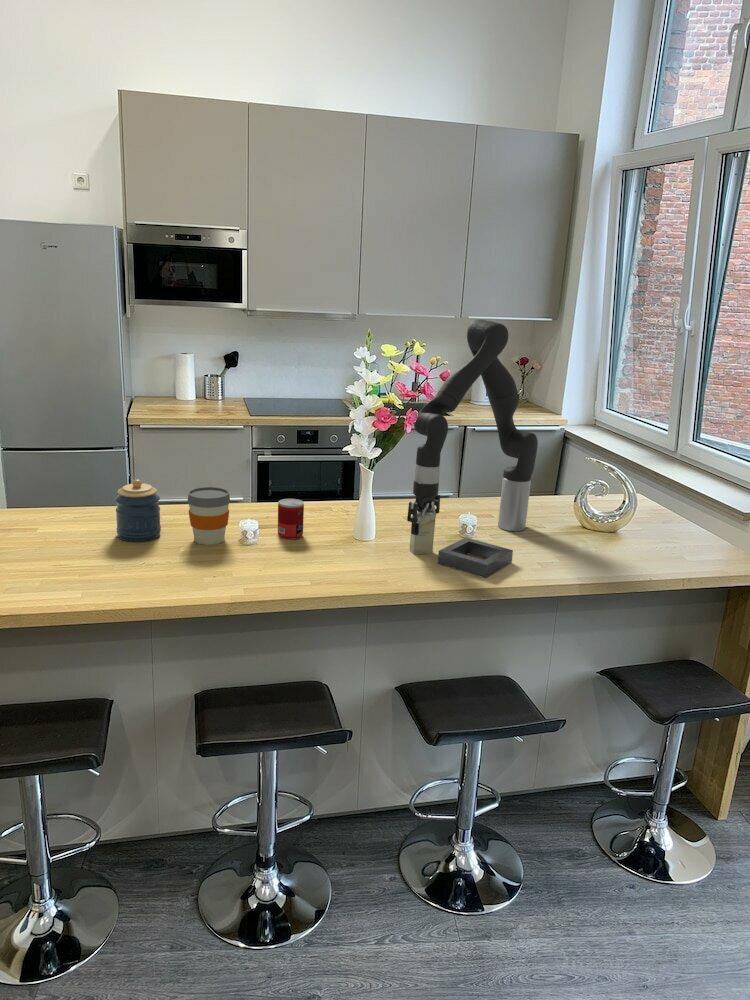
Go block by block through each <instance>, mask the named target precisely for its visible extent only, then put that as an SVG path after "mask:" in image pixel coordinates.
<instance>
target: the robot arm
mask: <svg viewBox="0 0 750 1000" xmlns="http://www.w3.org/2000/svg"><path fill="white" fill-rule="evenodd" d="M466 339H467V344H468V347H469V349H470V352H471V354H472V356H473V357H472V358H471V359H470V360H469V361H468V362H466V363H465V364H464V365H462V366H461V367H460V368H458V369H457V370H455V371H454V372H453V373H452V374H450V375H449V376H448V377H447V379H446V380H445V381H444V382H443V384H442V385H441V387H440V388H439V390H438V392H437V393H436V394H435V396H434V397H433V398H432V399H431V400H429V401H428V402H427V403H426V404H424V406H423V407H421V409H420V410H419V411H418V413H417V414H418V418H417V420H416V422H415V423H413V427H414V430H415V432H417V434H420V435H422V436H425V437H426V441H425V443H421V444H419V445H418V446H417V449H416V455H415V457H416V459H415V467H414V471H413V472H414V473H413V474H414V475H413V487H412V494H413V495H415V500H414V501H409V503H408V509H407V519H406V521H407V522H409V523H411V527H410V535H411V534H413V535H418V534H419V522H420V519H421V518H422V517H423V516H424V514H425V513H426V512H432V513H433V514H434V515H435V516H436V517H437V514H439V513H440V509H441V507H440V505H441V494H439V490H440V489H439V487H440V477H441V475H440V474H441V470H440V467H441V453H442V449H443V447H444V444H445V442H446V439H447V436H448V433H449V425H448V424H449V423H448V420H447V418H446V417H445V416H443V415H445V414H448V413H453V412H454V411H455V410H457V408H458V407H459V405H460V403H461V402H462V400H463V399H464V398H465V396H466V394H467V392H468V391H470V388H471V387H472V386H473V384H474V383H476V381H477V380H478V378H480V376H481V380H482V381H483V385H484V388H485V393H486V396H487V398H488V401H489V405H490V408H491V410H492V413H493V418H494V420H495V424H496V429H497V430H496V431H497V435H498V439H499V445H500V448H501V451H502V452H503V454H504V455H506V456H508V457H510V458H515V459H517V463H516V464H515V466H513V465H512V466H507V467H505V468H504V469H503V474H502V481H501V482H502V483H501V493H500V503H499V512H498V513H499V514H498V521H497V527H498V528H499V529H502V530H504V531H508V532H523V531H524V530H526V526H527V525H526V524H527V518H528V517H527V516H528V510H529V500H530V491H531V482H532V476H533V473H534V471H535V465H536V464H535V463H536V458H537V452H538V445H539V443H538V438H537V435H536V434H535V433H533V432H530V431H524V430H522V429H521V430H520V429H517V427H516V426H515V422H514V418H513V417H514V415H515V412H516V411H517V409H518V405H519V403H520V402H519V401H520V397H519V396H520V395H519V391H518V388H517V385H516V382H515V378H514V377H513V376H512V374H511V373H510V372H509V370H508V369H507V368H506V366H504V364H503V363H502V361H500V359H499V358H498V357H499V356H500V354H501V353H502V352H503V350H504V349H505V348H506V346H507V344H508V340H509V331H508V328H507V327H506V326H505V325H504V324H503V323H500V322H495V321H491V320H486V319H475V320H473V321H472V322H470V323H469V325H468V328H467V332H466ZM418 512H419V513H418ZM417 516H418V518H417ZM416 518H417V519H416Z"/></svg>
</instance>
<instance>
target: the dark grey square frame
mask: <svg viewBox="0 0 750 1000" xmlns="http://www.w3.org/2000/svg"><path fill="white" fill-rule="evenodd" d="M470 555H472V556H470ZM513 555H514V550H513V549H510V548H506V547H503V546H498V545H496V544H492V543H488V542H485V541H484V542H483V541H481V540H478V539H473V538H471V537H463V538H462V539H460V540H458V541H455V542H453V543H452V544H450V545H448V546H446V547H443V548H442V549H440V550H438V556H437V565H442V566H445V567H448V568H451V569H454V570H457V571H460V572H465V573H467V574H471V575H474V576H478V577H481V578H484V579H487V578H489V577H490V576H493V575H494V574H496V573H497V572H499V571H502V569H504V568H506V567H507V566H508V565H510V564H512V562H513ZM473 556H475V557H473ZM477 557H479V558H477ZM481 558H482V559H481Z"/></svg>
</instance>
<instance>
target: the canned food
mask: <svg viewBox="0 0 750 1000" xmlns="http://www.w3.org/2000/svg"><path fill="white" fill-rule="evenodd" d="M304 510H305V503H304V501H303V500H301V499H298V498H297V499H296V498H283V499H279V500H278V503H277V534H278V536H280V537H279V538H281V539H284V538H285V540H296V539H300V538H302V537H303V534H304V513H305V512H304Z"/></svg>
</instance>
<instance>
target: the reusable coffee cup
mask: <svg viewBox="0 0 750 1000" xmlns="http://www.w3.org/2000/svg"><path fill="white" fill-rule="evenodd" d="M187 494H188V495H187V504H188V508H189V509H188V516H189V517H188V518H189V523H190V526H191V528H192V532H193V533H192V534H193V540H194V542H195V543H196V542H197V543H196V544H199V545H203V544H204V545H206V546H213V545H218V543H219V544H221V543H223V542H224V541H225V537H226V528H227V526H228V523H229V517H230V509H229V506H230V503H231V496H230V491H229V489H226V488H222V487H217V486H201V487H197V488H193V489H191V490H189V491H188V493H187Z"/></svg>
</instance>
